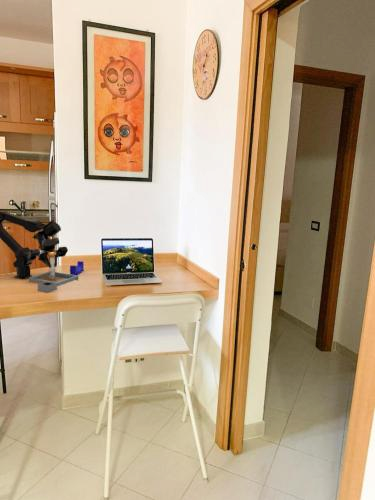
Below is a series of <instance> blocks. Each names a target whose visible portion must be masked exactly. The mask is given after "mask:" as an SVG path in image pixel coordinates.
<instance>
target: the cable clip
mask: <svg viewBox="0 0 375 500" xmlns="http://www.w3.org/2000/svg"><path fill="white" fill-rule="evenodd" d="M82 271H83V272H84V261H83V260H82V261H80V260H78V261H77V265H72V264H71V265H70V266H69V274H71V275H77V276H79V275H80V274H82V273H83V272H82ZM81 272H82V273H81Z"/></svg>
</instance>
